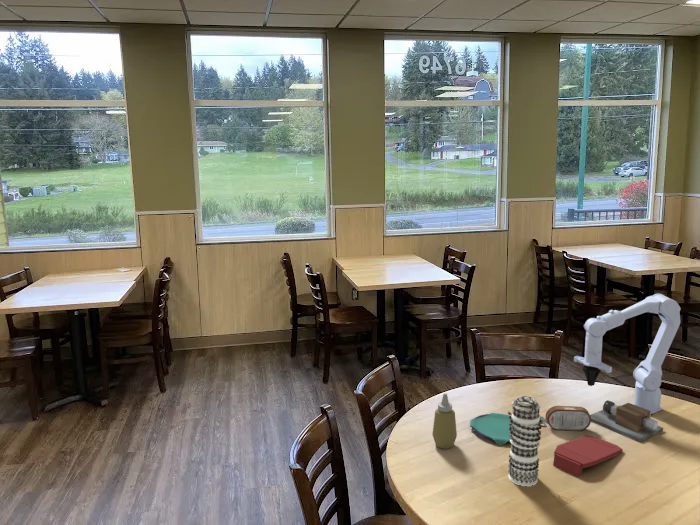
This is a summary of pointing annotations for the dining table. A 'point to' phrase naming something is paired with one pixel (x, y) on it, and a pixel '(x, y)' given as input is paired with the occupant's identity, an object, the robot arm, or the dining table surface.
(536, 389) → the dining table surface
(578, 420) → the tin
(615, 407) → the shaft
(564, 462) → the red bent panel
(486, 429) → the green flat slab
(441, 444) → the squeeze bottle
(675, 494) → the dining table surface
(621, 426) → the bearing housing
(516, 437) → the decorative candle
